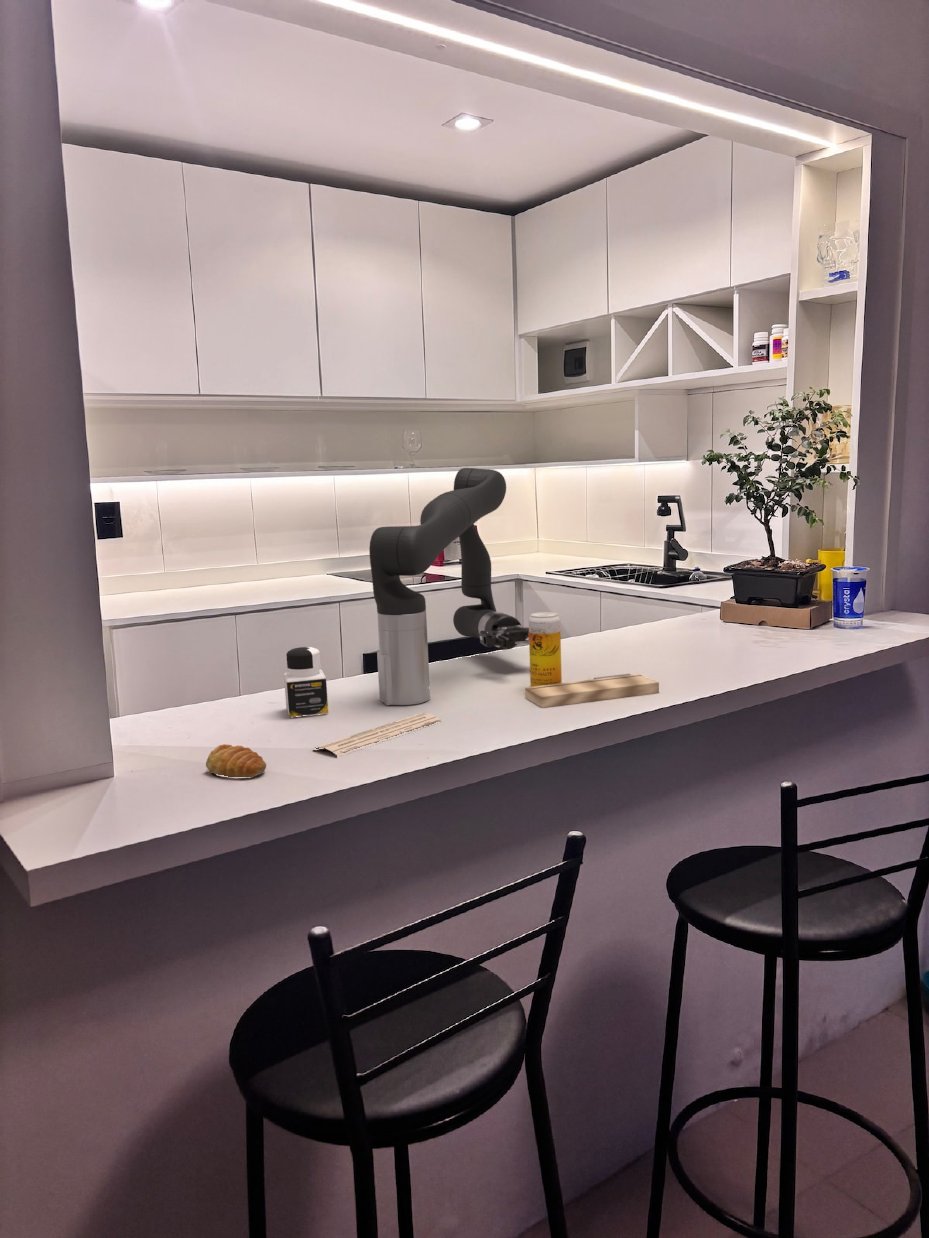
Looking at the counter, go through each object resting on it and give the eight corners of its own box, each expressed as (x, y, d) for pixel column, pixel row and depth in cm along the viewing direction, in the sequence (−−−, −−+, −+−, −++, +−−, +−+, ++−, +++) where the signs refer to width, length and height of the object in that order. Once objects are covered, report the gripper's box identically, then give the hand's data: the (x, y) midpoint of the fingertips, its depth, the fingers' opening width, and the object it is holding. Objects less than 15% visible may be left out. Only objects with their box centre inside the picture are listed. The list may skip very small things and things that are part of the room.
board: (541, 707, 160) (541, 696, 160) (525, 697, 168) (525, 687, 168) (658, 692, 168) (658, 681, 167) (638, 683, 175) (638, 673, 175)
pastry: (278, 771, 132) (276, 747, 131) (243, 785, 127) (241, 760, 126) (236, 762, 137) (234, 738, 137) (200, 775, 132) (198, 750, 131)
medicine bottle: (289, 718, 160) (284, 654, 158) (286, 709, 167) (281, 647, 165) (328, 714, 162) (324, 650, 160) (324, 705, 169) (320, 643, 167)
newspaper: (337, 762, 137) (336, 751, 137) (308, 753, 142) (307, 743, 141) (441, 726, 154) (440, 716, 154) (412, 719, 159) (411, 710, 159)
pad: (609, 686, 174) (609, 685, 174) (593, 679, 180) (593, 677, 180) (645, 682, 176) (645, 680, 176) (628, 675, 183) (628, 673, 183)
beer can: (525, 692, 172) (523, 616, 170) (538, 685, 178) (535, 611, 175) (554, 694, 169) (552, 617, 167) (566, 687, 175) (564, 612, 172)
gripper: (468, 615, 193) (494, 627, 178) (529, 610, 198) (558, 620, 182) (469, 649, 194) (495, 663, 179) (530, 643, 199) (559, 656, 183)
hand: (527, 641), depth 181 cm, fingers open, 8 cm apart
